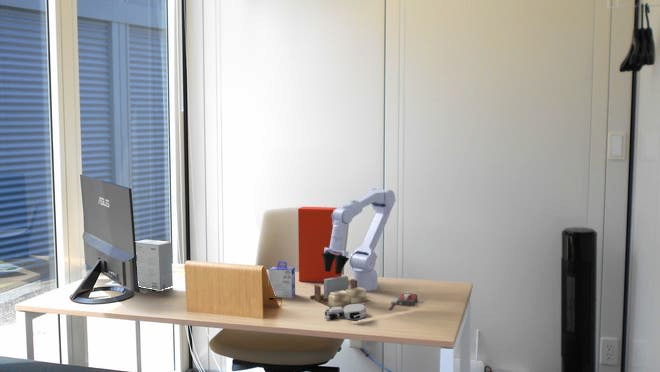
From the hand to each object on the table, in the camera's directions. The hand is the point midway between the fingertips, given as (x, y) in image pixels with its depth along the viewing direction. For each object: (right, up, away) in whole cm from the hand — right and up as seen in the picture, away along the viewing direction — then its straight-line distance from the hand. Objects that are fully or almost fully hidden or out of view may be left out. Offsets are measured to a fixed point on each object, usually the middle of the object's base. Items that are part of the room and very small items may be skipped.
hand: (332, 272), depth 279 cm
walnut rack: (+3, -11, -1) cm, 12 cm away
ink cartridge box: (-20, -11, +6) cm, 24 cm away
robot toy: (+5, -14, -22) cm, 27 cm away
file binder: (-5, -8, +34) cm, 35 cm away
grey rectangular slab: (+1, -10, +1) cm, 10 cm away
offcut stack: (+6, -11, -5) cm, 13 cm away
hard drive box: (-76, -10, +23) cm, 80 cm away
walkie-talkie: (+27, -12, -7) cm, 31 cm away
